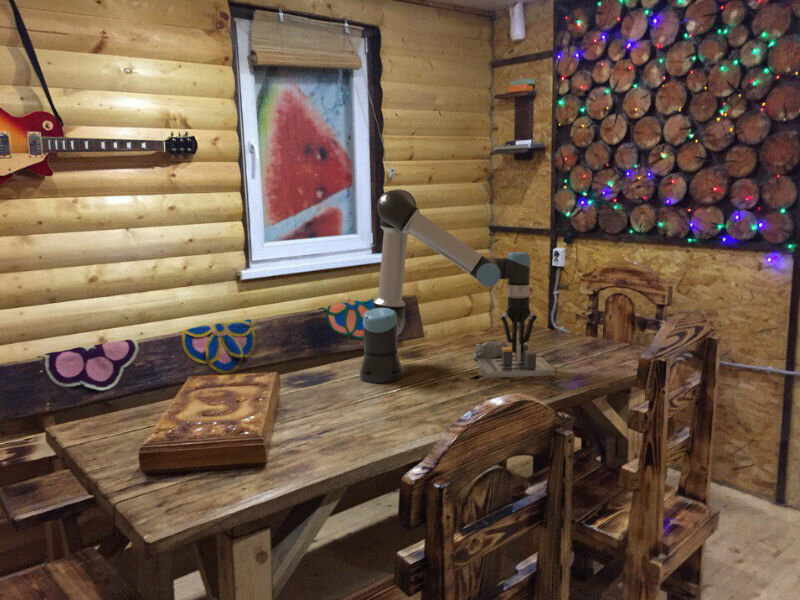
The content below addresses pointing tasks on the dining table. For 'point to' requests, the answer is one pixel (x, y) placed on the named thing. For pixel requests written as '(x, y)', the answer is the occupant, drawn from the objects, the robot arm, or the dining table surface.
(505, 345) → the mineral specimen
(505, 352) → the breaker middle
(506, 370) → the panel
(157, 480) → the dining table surface
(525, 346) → the breaker far
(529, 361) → the breaker near
